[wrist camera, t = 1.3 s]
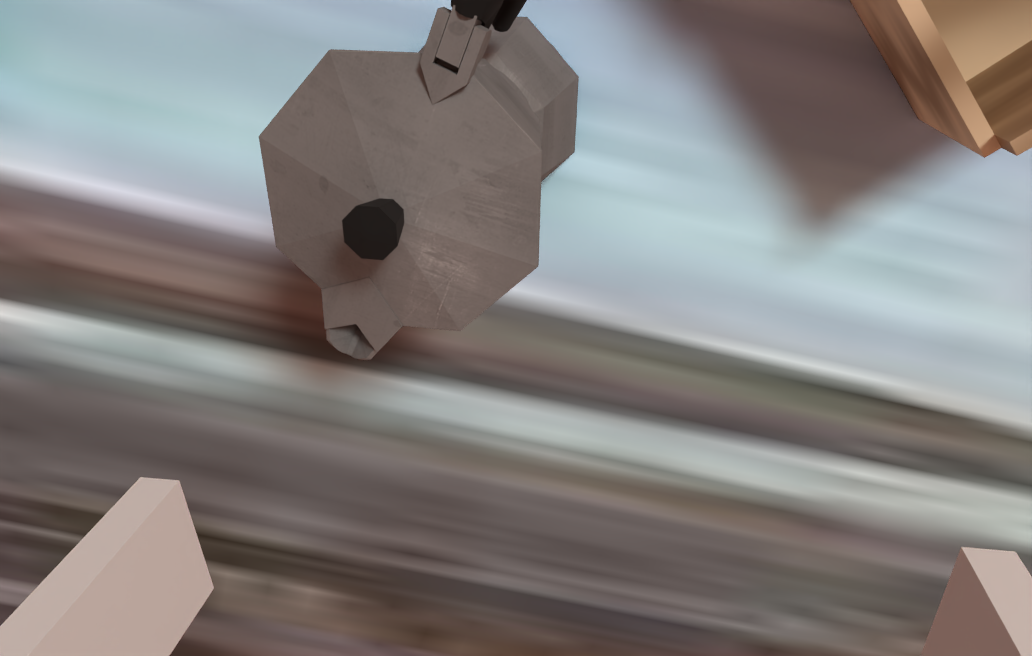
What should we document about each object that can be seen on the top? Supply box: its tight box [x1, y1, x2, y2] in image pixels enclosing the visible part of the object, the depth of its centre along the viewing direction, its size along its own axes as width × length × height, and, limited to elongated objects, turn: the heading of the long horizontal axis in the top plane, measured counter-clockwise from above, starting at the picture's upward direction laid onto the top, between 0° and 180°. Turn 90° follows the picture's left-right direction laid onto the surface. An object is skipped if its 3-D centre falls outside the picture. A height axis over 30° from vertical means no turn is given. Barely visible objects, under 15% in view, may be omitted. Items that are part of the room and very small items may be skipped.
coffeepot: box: [259, 0, 579, 360], centre depth 26 cm, size 15×9×18 cm, turn 157°
